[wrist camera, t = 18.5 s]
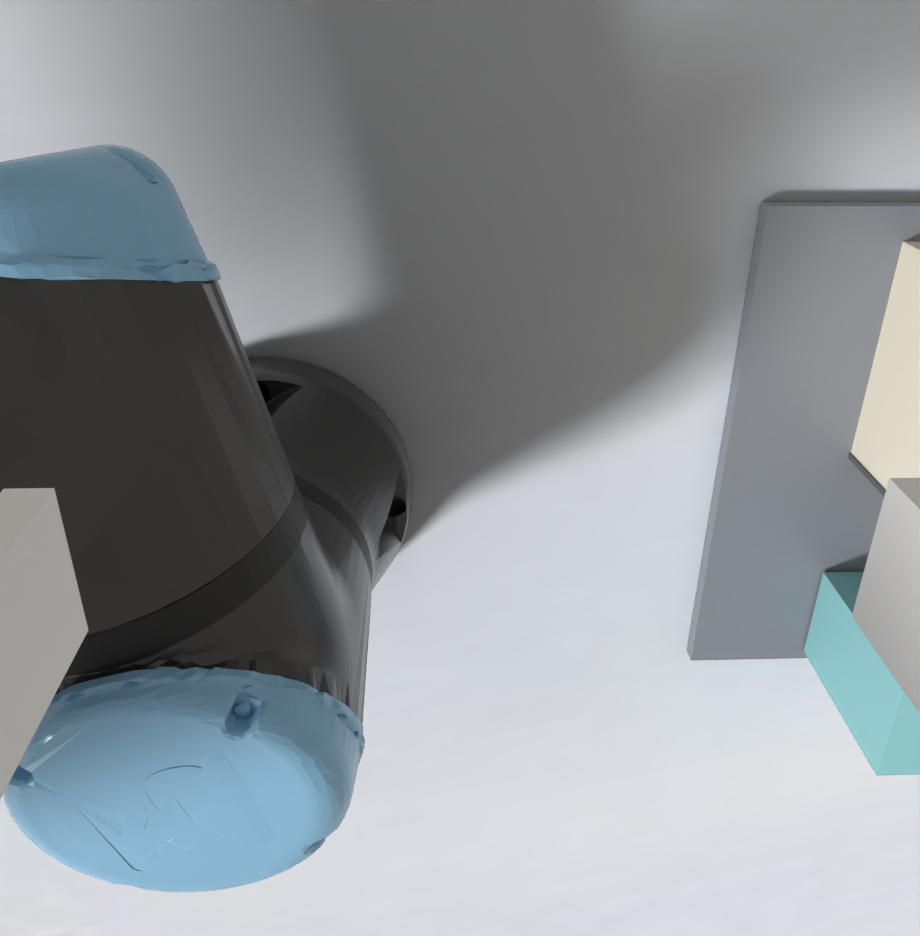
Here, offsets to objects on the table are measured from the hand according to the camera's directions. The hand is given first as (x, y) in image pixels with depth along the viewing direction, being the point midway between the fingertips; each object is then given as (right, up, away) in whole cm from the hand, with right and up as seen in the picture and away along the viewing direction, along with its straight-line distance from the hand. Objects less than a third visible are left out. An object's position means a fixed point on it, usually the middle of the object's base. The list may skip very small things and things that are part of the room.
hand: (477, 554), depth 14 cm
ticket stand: (+23, +2, +36) cm, 43 cm away
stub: (+23, -7, +40) cm, 47 cm away
